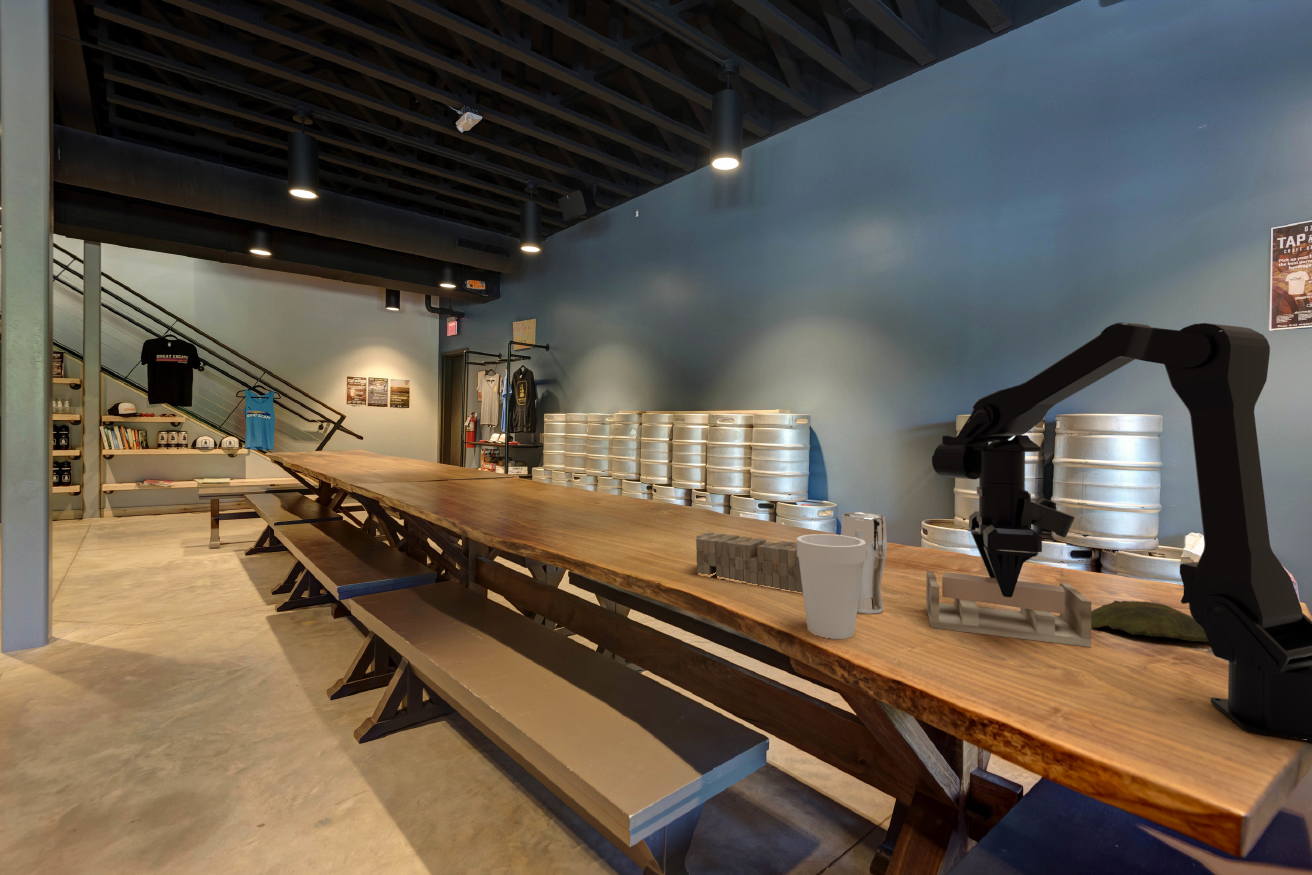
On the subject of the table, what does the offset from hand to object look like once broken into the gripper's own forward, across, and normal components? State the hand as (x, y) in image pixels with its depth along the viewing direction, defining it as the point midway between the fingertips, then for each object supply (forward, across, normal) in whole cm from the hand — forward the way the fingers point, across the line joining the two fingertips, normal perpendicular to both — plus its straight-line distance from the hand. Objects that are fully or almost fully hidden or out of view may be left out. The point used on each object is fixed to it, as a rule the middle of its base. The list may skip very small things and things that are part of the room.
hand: (1000, 588), depth 82 cm
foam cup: (+6, -12, +23) cm, 27 cm away
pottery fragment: (+6, +7, -19) cm, 21 cm away
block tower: (+6, +11, +37) cm, 39 cm away
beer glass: (+6, +1, +19) cm, 20 cm away
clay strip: (+2, 0, 0) cm, 2 cm away
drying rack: (+6, 0, 0) cm, 6 cm away
